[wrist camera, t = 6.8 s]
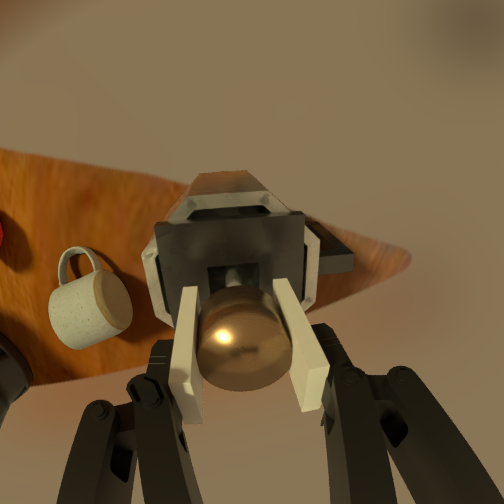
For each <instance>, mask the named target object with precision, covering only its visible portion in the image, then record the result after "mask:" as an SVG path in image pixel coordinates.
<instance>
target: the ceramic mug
mask: <svg viewBox="0 0 504 504" xmlns="http://www.w3.org/2000/svg"><path fill="white" fill-rule="evenodd" d="M78 253H79V254H83V253H86V254H87V256H88V257H89V259H90V261H91V263H92V266H93V268H94V272H92V273H90V274H88V275H86V276H83V277H82V278H79V279H77V280H74V281H72V282H69V283H68V282H67V274H66V267H67V262H68V259H69V258H70V257H71V256H73V255H75V254H78ZM58 278H59V284H60V287H59V288H57V289H56V290H54V291H53V293H52V294H51V296H50V299H49V317H50V321H51V324H52V327H53V329H54V331H55V333H56V334H57V336H58V337H59V339H60V340H61V341H62V342H63V343H64V344H65V345H67V346H68V347H70V348H72V349H76V350H81V349H84V348H86V347H88V346H91V345H93V344H96V343H98V342H101V341H103V340H105V339H108V338H110V337H113V336H115V335H117V334H119V333H121V332H122V331H124V330H125V329H127V328H128V327H129V325H130V324H131V321H132V317H133V309H132V303H131V299H130V296H129V294H128V292H127V289H126V287H125V286H124V284H123V283H122V281H121V280H120V279H119V278H118V277H117V276H116V275H115V274H113V273H112V272H110V271H108V270H102V268H101V264H100V261H99V259H98V258H97V256H96V254H95V253H94V252H93V251H92V250H91V249H89V248H87V247H83V246H75V247H72V248H69V249H67V250H66V251H65V252H64V253H63V254H62V256H61V258H60V261H59V267H58Z"/></svg>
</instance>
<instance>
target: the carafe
mask: <svg viewBox="0 0 504 504" xmlns="http://www.w3.org/2000/svg"><path fill="white" fill-rule="evenodd" d="M252 205H258V206H259V208H260V209H261V211H262V213H260V214H245V215H231V216H218V217H206V218H195V219H189V218H190V215H191V213H192V212H193V211H194V210H199V209H211V208H223V207H237V206H252ZM154 230H155V233H154V235H153V236H152V238H151V239H150V241H149V243H148V244H147V246H146V248H145V249H144V251H143V252H142V254H141V255H142V260H143V265H144V270H145V274H146V279H147V283H148V288H149V292H150V296H151V300H152V304H153V308H154V312H155V316H156V317H157V318H159V319H160V320H162V321H163V322H165V323H166V324H168V325H170V326H171V327H173V328H174V330H175V332H176V325H177V319H178V314H179V308H180V302H181V297H182V291H183V287H191V286H198V293H199V300H200V306H201V307H202V305H203V304H204V302H205V301H206V300H207V299H208V298H209V297H210V296H211V295H212V294H214V293H215V292H217V291H219V290H221V289H223V288H226V280H225V269H223V268H217V267H213V266H225V265H237V264H245V265H242V266H240V267H239V269H240V274H241V279H242V285H246V286H252V287H256V288H259V289H261V290H263V291H264V292H266V293H267V294H269V295H270V296H271V297H272V299H273V279H282V278H287V279H288V281H289V283H290V285H291V287H292V289H293V291H294V293H295V295H296V297H297V299H298V301H299V303H300V305H301V307H302V309H303V311H304V312H305V311H306V310H307V309H308V308H309V307H311V306H312V305H313V304H314V303H315V302H316V290H317V278H318V275H326V274H335V273H343V272H351V271H352V270H353V262H354V253H353V252H352V251H351V250H350V249H349V248H348V247H346V246H345V245H344V244H343V243H342V242H341V241H340V240H338V239H337V238H336V237H335V236H334V235H333V234H331V233H330V232H329V231H328V230H327V229H326V228H324V227H323V226H322V225H321V224H320V223H318V222H317V221H316V222H305V214H304V213H302V212H301V211H294V212H291V211H290V210H289V209H288V208H287V207H286V206H285V205H284V204H283V203H282V202H281V201H280V200H278V199H277V198H276V197H275V196H274V195H273V194H272V193H271V192H270V191H269V190H268V189H266V188H265V187H264V186H263V185H262V184H261V183H260V182H259V181H258V180H257V179H255V178H254V177H253V176H252V175H251V174H250V173H249V172H248V171H247V170H241V171H221V172H212V173H200V174H199V175H198V176H197V177H196V178H195V179H194V181H193V182H192V183H191V184H190V185H189V187H188V188H187V189H186V190H185V191H184V193H183V194H182V195H181V196H180V197H179V199H178V200H177V201H176V202H175V204H174V205H173V206H172V207H171V208H170V210H169V211H168V213H167V214H166V216H165V217H164V219H163V220H162V222H156V224H155V225H154ZM319 250H320V251H319Z"/></svg>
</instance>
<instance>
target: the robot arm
mask: <svg viewBox="0 0 504 504" xmlns="http://www.w3.org/2000/svg"><path fill="white" fill-rule="evenodd" d="M273 300H274V301H275V303H276V305H277V307H278V310H279V313H280V315H281V318H282V321H283V324H284V326H285V329H286V332H287V335H288V337H289V340H290V343H291V346H292V349H293V354H292V363H291V366H290V367H289V369H288V370H289V373H290V376H291V379H292V383H293V386H294V389H295V392H296V395H297V398H298V401H299V404H300V408H301V411H302V412H306V411H311V410H316V409H319V408H320V405H321V402H322V404H323V406H324V409H325V410H324V414H323V417H322V420H321V426H323V425H324V428H325V438H326V449H327V460H328V473H329V487H330V502H331V504H397V498H396V492H395V487H394V482H393V477H392V472H391V467H390V462H389V458H388V453H387V450H388V452H389V454H390V456H391V458H392V460H393V461H394V463H395V465H396V467H397V468H398V471H399V472H400V474H401V476H402V478H403V480H404V482H405V484H406V486H407V488H408V490H409V491H410V493H411V495H412V497H413V499H414V501H415V503H416V504H504V499H503V497H502V495H501V494H500V492H499V490H498V489H497V487H496V485H495V484H494V482H493V480H492V479H491V477H490V476H489V474H488V473H487V471H486V469H485V468H484V467H483V465H482V463H481V462H480V460H479V459H478V457H477V456H476V454H475V453H474V451H473V450H472V448H471V447H470V446H469V444H468V443H467V441H466V440H465V438H464V437H463V436H462V434H461V433H460V431H459V430H458V428H457V427H456V426H455V424H454V423H453V422H452V420H451V419H450V417H449V416H448V415H447V413H446V412H445V411H444V409H443V408H442V407H441V405H440V404H439V403H438V401H437V400H436V399H435V397H434V396H433V395H432V393H431V392H430V391H429V389H428V388H427V387H426V386H425V384H424V383H423V382H422V380H421V379H420V378H419V377H418V375H417V374H416V373H415V372H414V371H413V370H412V369H410V368H408V367H406V366H396V367H393V368H392V369H390V370H389V372H388V373H387V375H367V374H365V372H364V371H362V370H361V369H359V368H357V367H354V366H353V365H352V363H351V361H350V359H349V357H348V355H347V353H346V352H345V350H344V348H343V346H342V345H341V344H340V341H339V340H338V338H337V336H336V334H335V333H334V331H333V329H332V328H330V327H329V326H328V325H326V324H325V323H322V324H315V325H310V324H309V322H308V320H307V318H306V315H305V313H304V311H303V309H302V307H301V305H300V303H299V301H298V299H297V297H296V295H295V293H294V291H293V289H292V287H291V285H290V283H289V281H288V279H287V278H282V279H273ZM200 310H201V306H200V300H199V293H198V286H191V287H183V291H182V297H181V302H180V308H179V314H178V319H177V325H176V332H175V338H174V339H170V340H158V341H157V342H156V343H155V344H154V346H153V347H152V349H151V354H150V358H149V365H148V367H147V372H146V373H144V374H140V375H137V376H135V377H134V378H132V379H131V380H130V381H129V383H128V384H127V388H126V390H127V392H128V394H129V395H130V397H131V399H132V402H129V403H127V404H122V405H117V406H113V405H112V404H111V403H110V402H109V401H106V400H96V401H93V402H91V403H90V404H89V405H87V407H86V409H85V410H84V412H83V415H82V418H81V421H80V424H79V427H78V429H77V433H76V435H75V438H74V441H73V444H72V448H71V451H70V454H69V458H68V461H67V464H66V468H65V471H64V475H63V479H62V482H61V487H60V490H59V494H58V499H57V504H131V498H132V490H133V482H134V475H135V469H136V463H137V457H138V462H139V470H140V478H141V484H142V490H143V496H144V502H145V504H203V501H202V498H201V494H200V491H199V488H198V484H197V481H196V477H195V474H194V470H193V466H192V463H191V459H190V455H189V451H188V447H187V442H186V438H185V434H184V432H183V429H182V419H183V421H184V423H185V424H203V376H202V375H201V374H200V372H199V368H198V363H197V343H198V325H199V313H200ZM32 381H33V375H32V372H31V369H30V367H29V365H28V363H27V362H26V360H25V359H24V357H23V356H22V355H21V353H20V352H19V351H18V350H17V348H16V347H15V346H14V345H13V344H12V343H11V342H10V341H9V340H8V339H7V338H6V337H5V336H3V335H2V334H1V333H0V428H1V425H2V423H3V420H4V418H5V416H6V414H7V411H8V409H9V407H10V405H11V404H12V403H13V402H14V401H16V400H17V399H18V398H19V397H20V396H22V395H23V394H24V393H25V392H26V391H27V390H28V389H29V387H30V385H31V383H32ZM386 448H387V449H386Z"/></svg>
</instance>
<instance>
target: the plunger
mask: <svg viewBox="0 0 504 504" xmlns="http://www.w3.org/2000/svg"><path fill="white" fill-rule="evenodd" d="M260 213H262V211H261V209H260V208H259V206H258V205H252V206H237V207H223V208H211V209H199V210H194V211H193V212H192V213H191V215H190V218H189V219H195V218H206V217H218V216H231V215H245V214H260ZM242 265H245V264H237V265H225V266H213V267H217V268H223V269H225V280H226V288H223V289H221V290H219V291H217V292H215V293H214V294H212V295H211V296H210V297H209V298H208V299H207V300H206V301H205V302H204V304H203V305H202V307H201V310H200V313H199V325H198V343H197V363H198V368H199V372H200V374H201V375H202V376H203V377H204V378H205V379H206V380H207V381H208V382H209V383H211V384H213V385H214V386H216V387H219V388H221V389H225V390H229V391H241V392H242V391H252V390H257V389H261V388H263V387H266V386H268V385H270V384H272V383H274V382H276V381H277V380H279V379H280V378H281V377H282V376H283V375H284V374H285V373H286V372H287V371H288V369H289V367H290V366H291V363H292V354H293V349H292V346H291V343H290V340H289V337H288V335H287V332H286V329H285V326H284V324H283V321H282V318H281V315H280V313H279V310H278V307H277V305H276V303H275V301H274V300H273V299H272V297H271V296H270V295H269V294H267V293H266V292H264V291H263V290H261V289H259V288H256V287H252V286H246V285H242V279H241V274H240V269H239V267H240V266H242Z"/></svg>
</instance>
